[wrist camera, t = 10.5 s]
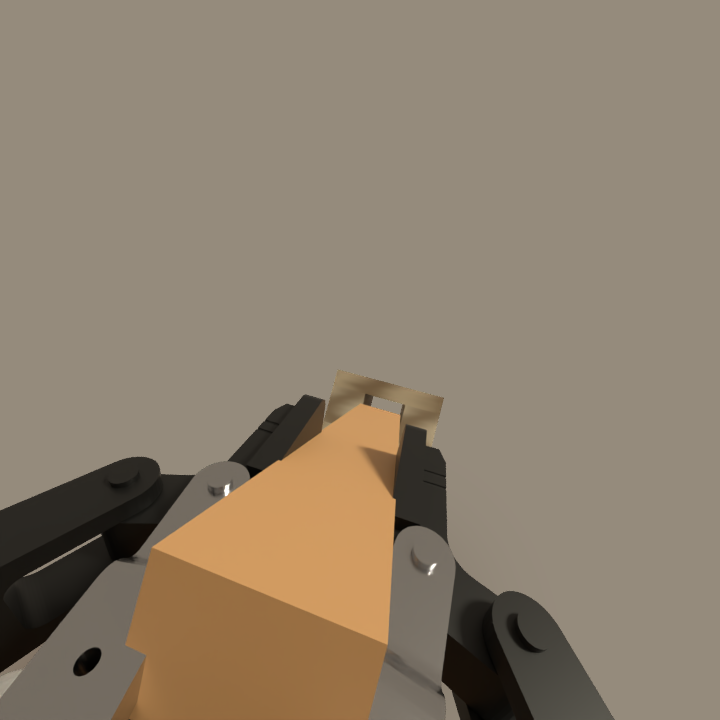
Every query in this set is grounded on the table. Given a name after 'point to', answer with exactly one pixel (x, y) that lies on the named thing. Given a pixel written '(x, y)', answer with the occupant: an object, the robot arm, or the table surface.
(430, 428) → the wavy grain plank
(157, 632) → the peg
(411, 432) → the robot arm
